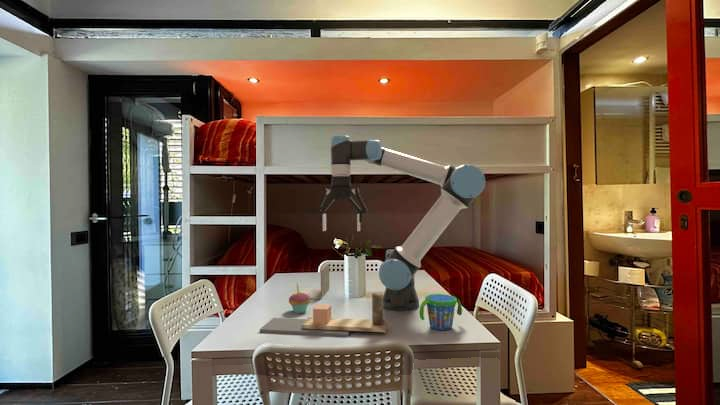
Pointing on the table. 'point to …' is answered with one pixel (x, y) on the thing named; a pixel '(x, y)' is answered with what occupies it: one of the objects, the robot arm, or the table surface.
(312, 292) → the laptop
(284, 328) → the lane board
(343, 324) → the tan wooden stand
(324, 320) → the cube
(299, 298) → the cupcake
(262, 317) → the table surface
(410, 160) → the robot arm
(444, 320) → the snack cup
